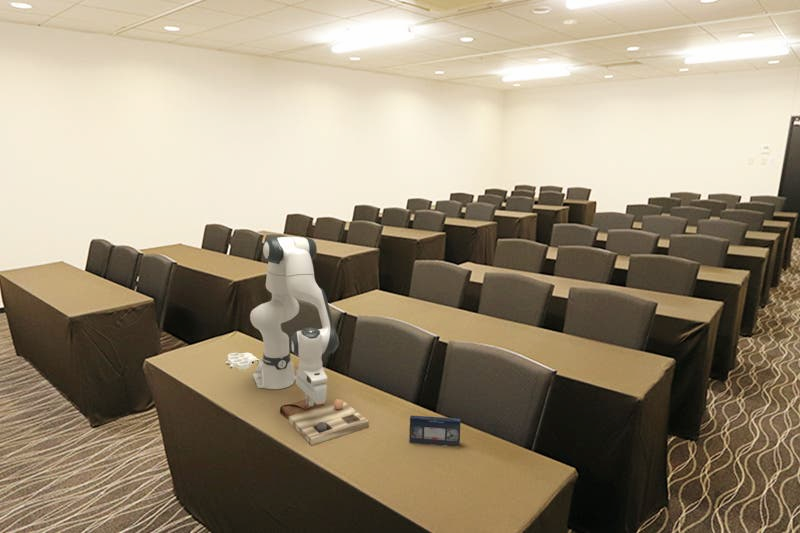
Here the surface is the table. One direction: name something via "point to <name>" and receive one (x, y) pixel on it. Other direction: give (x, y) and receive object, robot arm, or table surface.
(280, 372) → the robot arm
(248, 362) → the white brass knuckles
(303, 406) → the sunglasses case
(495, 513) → the table surface
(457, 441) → the vhs cassette tape
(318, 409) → the hole board
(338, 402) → the terracotta ball
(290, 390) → the table surface
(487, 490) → the table surface
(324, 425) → the charcoal ball
